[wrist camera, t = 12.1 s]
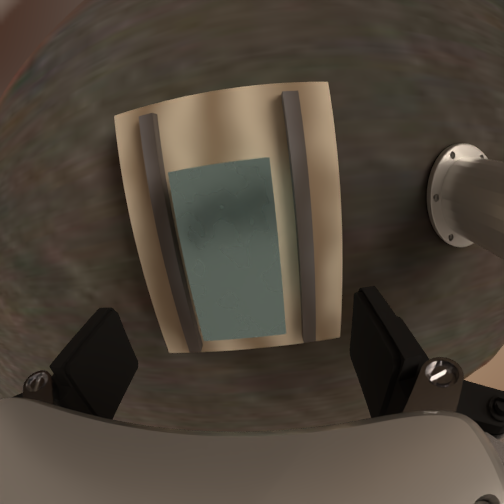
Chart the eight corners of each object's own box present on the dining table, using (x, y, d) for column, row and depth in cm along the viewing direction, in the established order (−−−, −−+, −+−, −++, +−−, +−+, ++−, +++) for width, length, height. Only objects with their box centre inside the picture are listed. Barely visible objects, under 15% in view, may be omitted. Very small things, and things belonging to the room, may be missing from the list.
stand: (317, 91, 22) (331, 78, 17) (331, 316, 30) (343, 344, 25) (132, 120, 23) (107, 114, 18) (177, 331, 31) (166, 360, 26)
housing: (279, 294, 25) (286, 334, 19) (213, 301, 25) (204, 341, 19) (265, 156, 21) (269, 157, 15) (189, 167, 21) (167, 172, 15)
